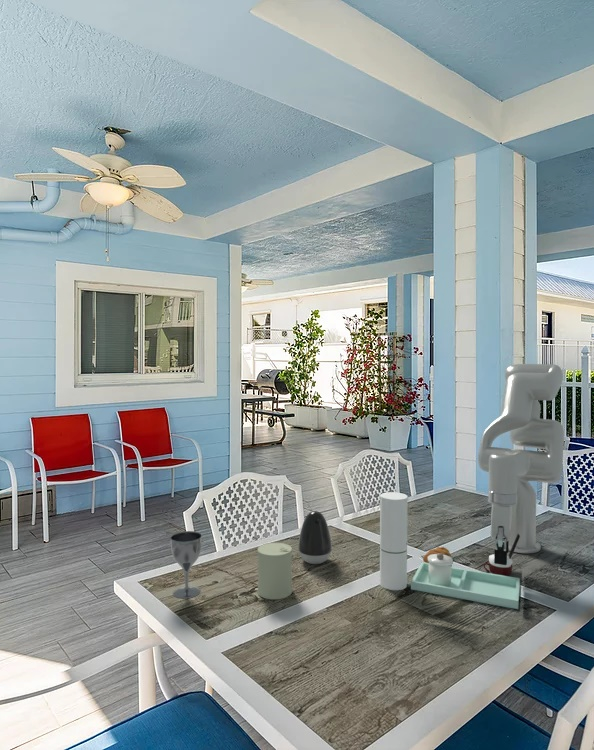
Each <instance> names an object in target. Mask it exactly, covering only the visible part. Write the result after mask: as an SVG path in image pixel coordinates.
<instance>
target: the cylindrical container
mask: <svg viewBox="0 0 594 750" xmlns="http://www.w3.org/2000/svg"><path fill="white" fill-rule="evenodd" d="M379 498H380V499H379V501H380V502H379V509H380V511H379V585H380V587H382V588H383V589H386V590H388V591H389V590H390V591H401V590H404V589H406V588H407V586H408V582H407V581H408V495H407V494H405V493H401V492H397V491H391V492H390V491H389V492H383V493H381V494H380V496H379Z"/></svg>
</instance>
